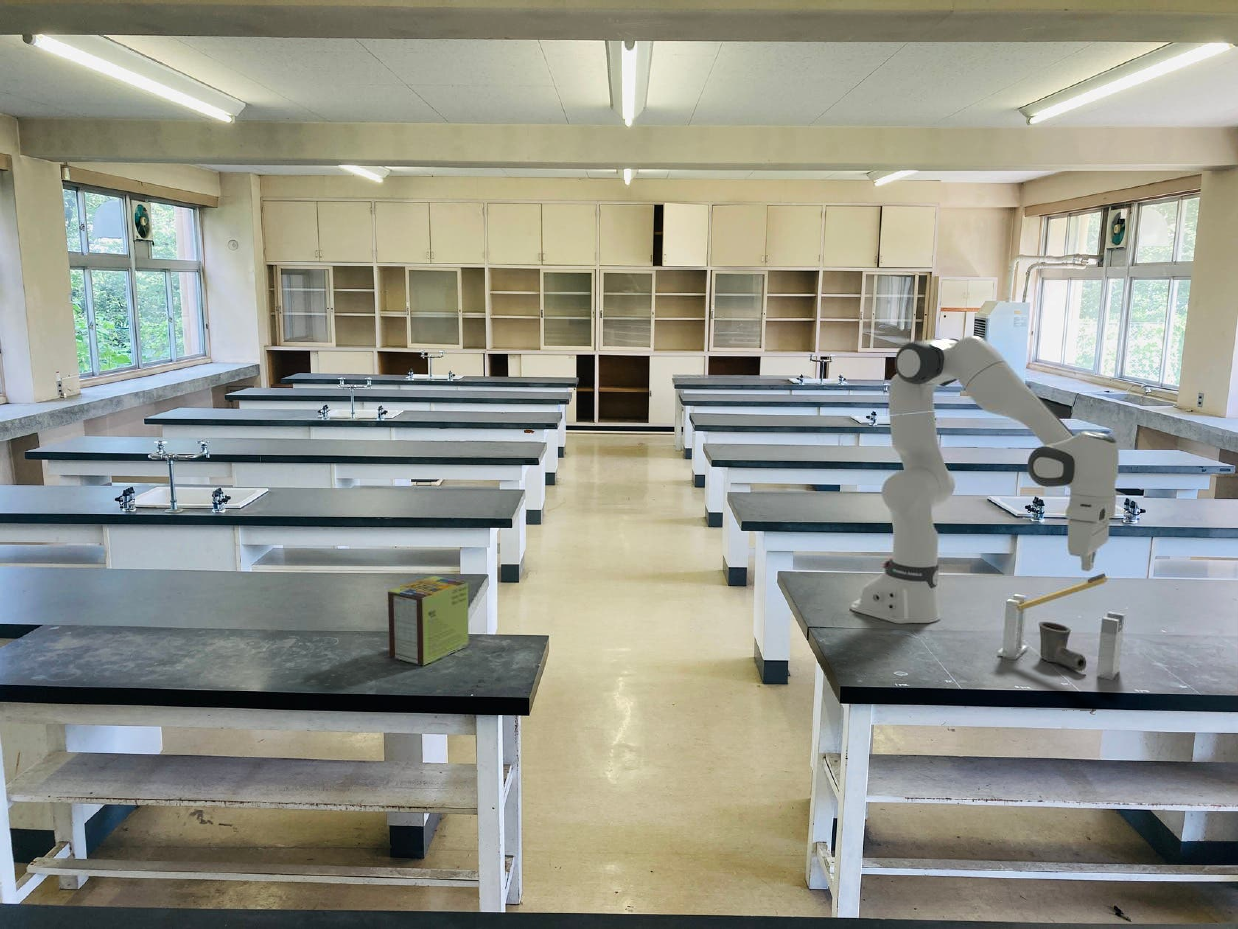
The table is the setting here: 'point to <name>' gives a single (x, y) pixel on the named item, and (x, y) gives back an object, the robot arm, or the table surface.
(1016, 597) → the grey slotted stand
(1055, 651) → the pipe
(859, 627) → the table surface
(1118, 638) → the stop block
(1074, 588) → the yellow bar
